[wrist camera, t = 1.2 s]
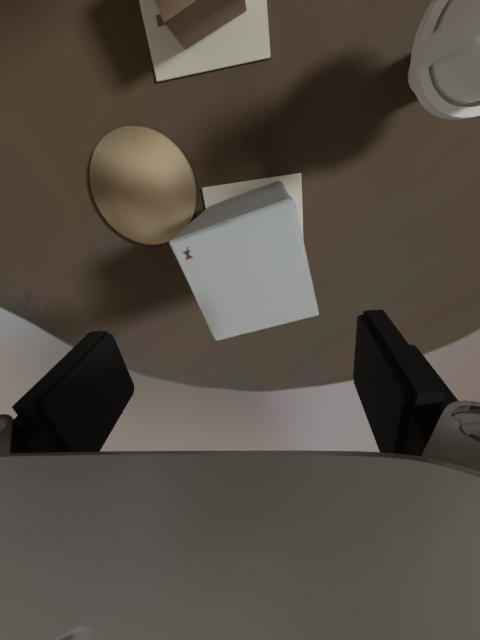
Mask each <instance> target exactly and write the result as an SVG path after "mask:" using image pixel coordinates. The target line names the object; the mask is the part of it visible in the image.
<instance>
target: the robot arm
mask: <svg viewBox="0 0 480 640" xmlns="http://www.w3.org/2000/svg"><path fill="white" fill-rule="evenodd" d="M353 377H354V384H355V387H356V389H357V392H358V395H359V397H360V400H361V403H362V405H363V408H364V411H365V413H366V416H367V419H368V421H369V424H370V426H371V429H372V432H373V435H374V437H375V440H376V443H377V445H378V448H379V451H380V453H378V452H358V451H122V452H121V451H117V452H116V451H112V452H99V451H100V450H101V448H102V446H103V444H104V443H105V441H106V439H107V438H108V436H109V434H110V432H111V431H112V429H113V427H114V426H115V424H116V422H117V420H118V419H119V417H120V415H121V414H122V412H123V410H124V408H125V407H126V405H127V403H128V401H129V400H130V398H131V397H132V395H133V392H134V385H133V382H132V379H131V377H130V375H129V372H128V370H127V368H126V365H125V363H124V360H123V358H122V356H121V353H120V351H119V349H118V346H117V344H116V341H115V339H114V337H113V335H112V334H109V333H108V332H107V331H94V332H90V333H89V334H87V335H86V336H85V337H84V338H83V339H82V340H81V341H80V342H79V343H78V344H77V345H76V346H75V347H74V348H73V349H72V350H71V351H70V352H69V353H68V354H67V355H66V356H65V357H64V358H63V359H62V360H60V361H59V362H58V363H57V364H56V365H55V366H54V367H53V368H52V369H51V370H50V371H49V372H48V373H47V374H46V375H45V376H44V377H43V378H42V379H41V380H40V381H39V382H38V383H36V384H35V385H34V386H33V388H31V389H30V390H29V391H28V392H27V393H26V394H25V395H24V396H23V397H22V398H21V399H20V400H19V401H18V402H17V403H16V404H15V405H14V406H13V407H12V408H13V409H14V411H15V412H16V413H17V415H18V416H17V417H16V418H15V419H13V418H12V417H11V416H9V415H5V414H2V415H0V640H480V403H479V402H474V401H458V400H457V399H456V397H455V396H454V395H453V393H452V392H451V391H450V390H449V388H448V387H447V386H446V384H445V383H444V382H443V381H442V379H441V378H440V377H439V375H438V374H437V373H436V372H435V370H434V369H433V368H432V366H431V365H430V364H429V363H428V361H427V360H426V359H425V357H424V356H423V355H422V354H421V352H420V351H419V350H418V348H417V347H415V346H414V345H409V344H408V343H407V342H406V340H405V339H404V337H403V336H402V335H401V333H400V332H399V331H398V329H397V328H396V327H395V325H394V324H393V323H392V321H391V320H390V319H389V317H388V316H387V315H386V313H385V312H384V311H383V310H369V311H364V313H363V315H359V316H358V318H357V331H356V345H355V360H354V374H353Z"/></svg>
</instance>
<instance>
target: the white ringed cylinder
mask: <svg viewBox="0 0 480 640" xmlns="http://www.w3.org/2000/svg"><path fill="white" fill-rule="evenodd" d="M447 1H448V0H433V1H432V2H431V4H430V5H429V7H428V9H427V11H426V12H425V14H424V16H423V18H422V21H421V23H420V25H419V28H418V30H417V33H416V36H415V40H414V43H413V48H412V54H411V63H410V67H409V71H408V83H409V86H410V88H411V90H412V91H413V92H414V93H415V95H416V97H417V99H418V100H419V102H420V103H421V105H422V106H423V107H424V108H425V109H426V110H427V111H429V112H430V113H431V114H433V115H435V116H437V117H440V118H444V119H450V120H457V119H465V118H470V117H475V116H480V105H478V106H475V107H459V106H455V105H452V104H457V105H460V104H468V103H472V102H476V101H479V100H480V0H450V1H449V2H448V4H447V5H446V6H445V4H446V2H447ZM444 6H445V8H444ZM443 8H444V9H443ZM442 9H443V10H442ZM441 11H442V12H441Z"/></svg>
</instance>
